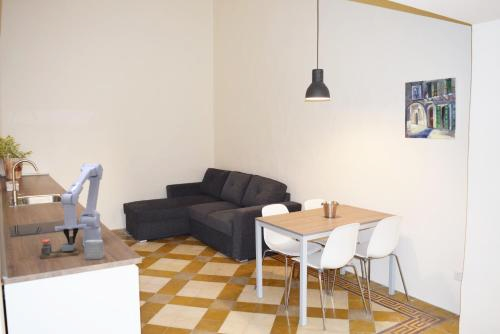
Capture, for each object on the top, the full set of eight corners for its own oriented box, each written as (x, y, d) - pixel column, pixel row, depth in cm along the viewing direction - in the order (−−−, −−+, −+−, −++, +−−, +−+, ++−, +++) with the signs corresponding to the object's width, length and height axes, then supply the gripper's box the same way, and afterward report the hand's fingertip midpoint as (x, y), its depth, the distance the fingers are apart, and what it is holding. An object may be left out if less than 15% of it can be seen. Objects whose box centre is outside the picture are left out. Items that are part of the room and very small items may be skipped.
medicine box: (104, 256, 200) (103, 239, 199) (101, 259, 196) (100, 242, 195) (87, 256, 200) (87, 239, 199) (84, 259, 196) (83, 242, 195)
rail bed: (79, 249, 212) (78, 239, 211) (78, 255, 203) (77, 244, 202) (42, 253, 206) (42, 243, 205) (40, 259, 197) (39, 248, 196)
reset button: (50, 240, 204) (50, 238, 204) (49, 242, 200) (49, 240, 200) (42, 241, 202) (42, 239, 202) (41, 243, 199) (41, 241, 199)
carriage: (73, 246, 210) (73, 235, 209) (73, 250, 203) (72, 238, 202) (63, 247, 208) (62, 236, 207) (62, 251, 201) (61, 239, 201)
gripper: (53, 219, 198) (55, 246, 199) (85, 217, 203) (86, 243, 205) (55, 216, 205) (56, 243, 206) (85, 214, 210) (86, 240, 211)
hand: (71, 243), depth 206 cm, fingers closed on carriage, 2 cm apart
